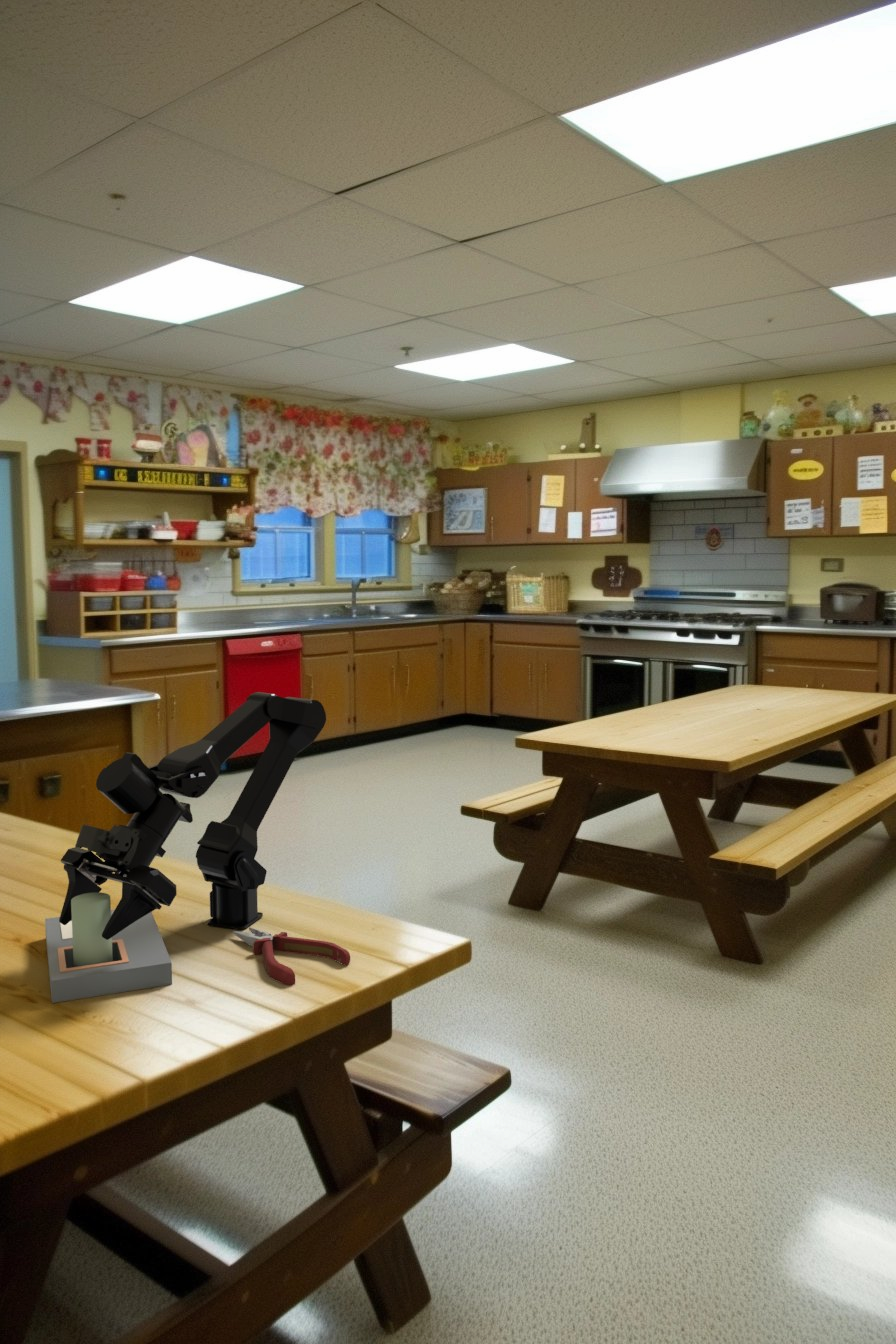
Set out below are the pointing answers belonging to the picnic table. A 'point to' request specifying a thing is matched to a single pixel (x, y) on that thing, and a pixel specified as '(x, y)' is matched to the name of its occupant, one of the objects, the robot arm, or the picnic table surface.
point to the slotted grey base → (132, 968)
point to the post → (90, 929)
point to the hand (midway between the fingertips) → (82, 930)
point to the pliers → (281, 942)
